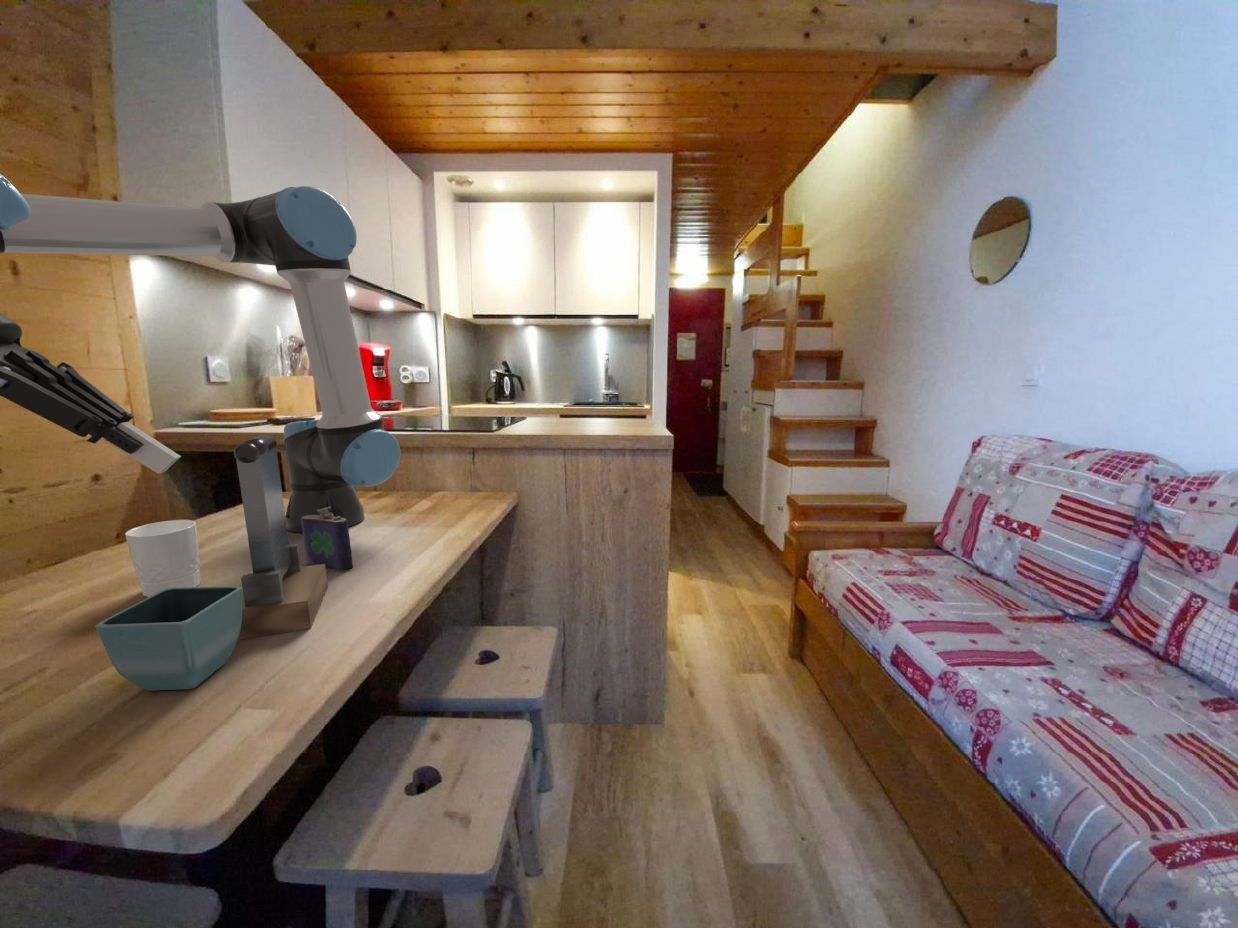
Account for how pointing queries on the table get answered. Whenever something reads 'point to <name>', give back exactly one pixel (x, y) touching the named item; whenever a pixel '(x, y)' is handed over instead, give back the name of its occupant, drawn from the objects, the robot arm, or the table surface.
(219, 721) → the table surface
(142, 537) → the white cup
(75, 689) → the table surface
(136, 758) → the table surface
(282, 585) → the base
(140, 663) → the flower pot
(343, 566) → the flask
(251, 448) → the lever
